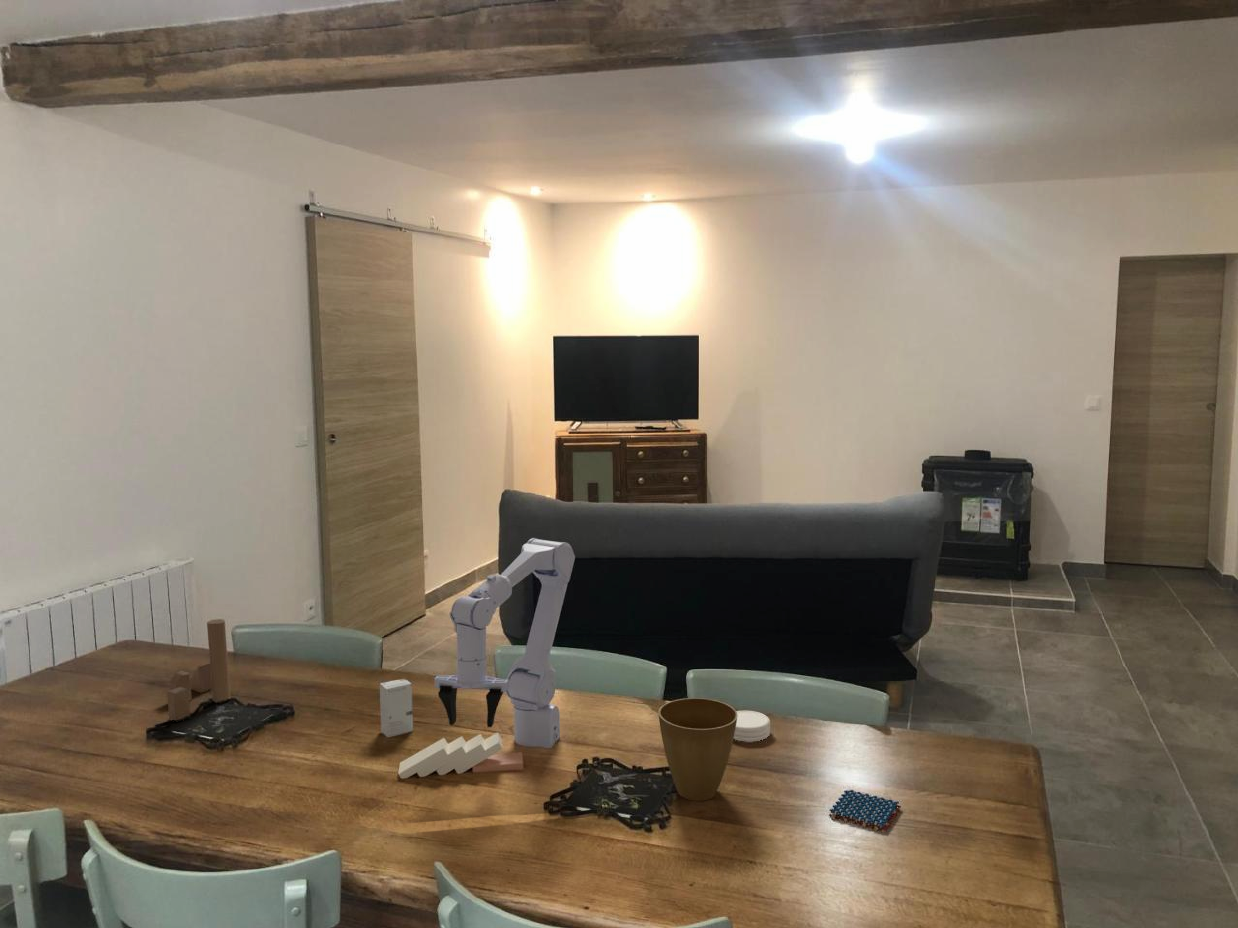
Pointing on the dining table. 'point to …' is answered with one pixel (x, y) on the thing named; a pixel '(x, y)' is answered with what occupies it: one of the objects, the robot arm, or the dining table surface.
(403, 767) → the domino
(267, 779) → the dining table surface
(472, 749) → the domino
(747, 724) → the white round disc
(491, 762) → the end domino
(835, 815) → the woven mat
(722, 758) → the plant pot
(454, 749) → the domino
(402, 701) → the skincare box
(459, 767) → the domino
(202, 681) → the wooden blocks
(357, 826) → the dining table surface
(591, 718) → the dining table surface
